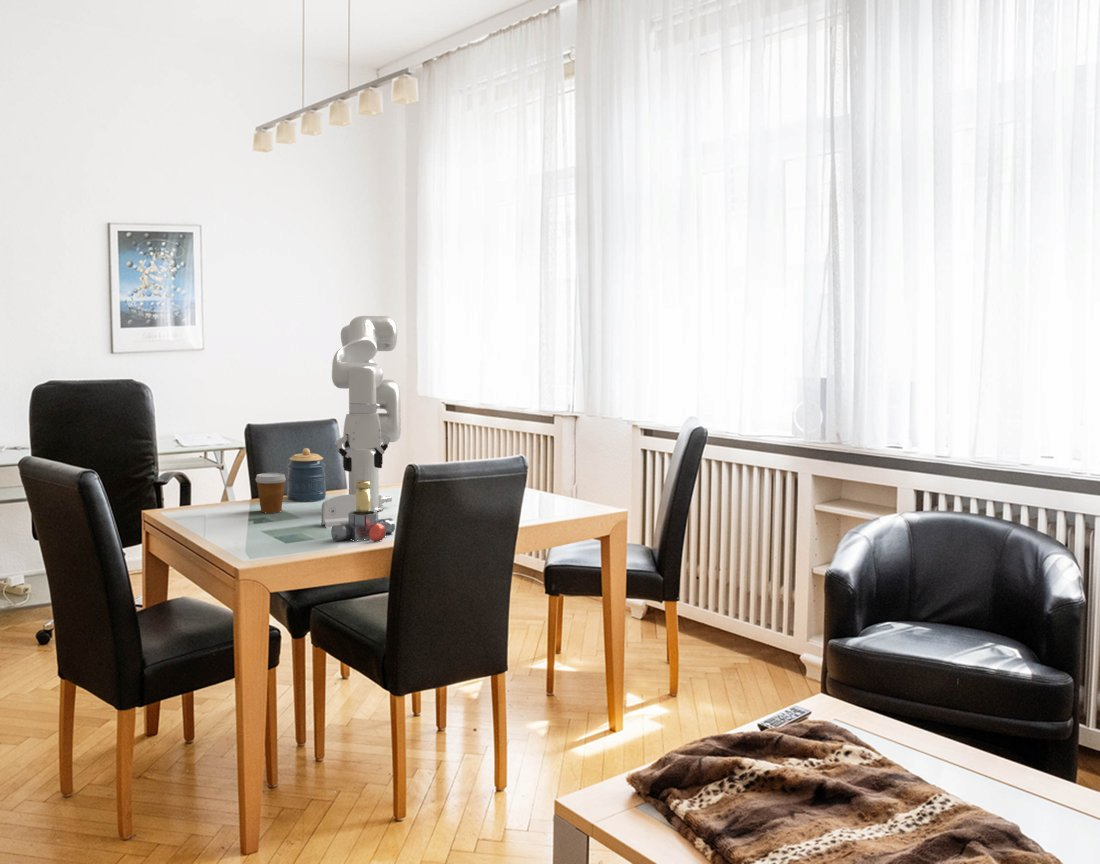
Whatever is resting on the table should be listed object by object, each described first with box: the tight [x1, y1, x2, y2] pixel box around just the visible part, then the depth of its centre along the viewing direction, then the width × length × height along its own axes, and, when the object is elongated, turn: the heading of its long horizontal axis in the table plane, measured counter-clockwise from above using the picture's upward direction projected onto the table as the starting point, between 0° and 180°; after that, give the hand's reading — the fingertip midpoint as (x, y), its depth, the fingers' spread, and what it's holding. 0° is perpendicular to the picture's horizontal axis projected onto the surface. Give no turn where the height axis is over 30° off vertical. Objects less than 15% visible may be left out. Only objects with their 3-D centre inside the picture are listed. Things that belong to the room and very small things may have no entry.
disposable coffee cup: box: [254, 472, 287, 514], centre depth 315 cm, size 10×10×12 cm
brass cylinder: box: [356, 480, 371, 515], centre depth 279 cm, size 4×4×12 cm
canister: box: [286, 447, 327, 503], centre depth 339 cm, size 13×13×18 cm
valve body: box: [330, 510, 396, 542], centre depth 278 cm, size 18×12×7 cm, turn 131°
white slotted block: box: [320, 494, 375, 528], centre depth 298 cm, size 17×5×10 cm, turn 117°
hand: (363, 469), depth 278 cm, fingers open, 9 cm apart
